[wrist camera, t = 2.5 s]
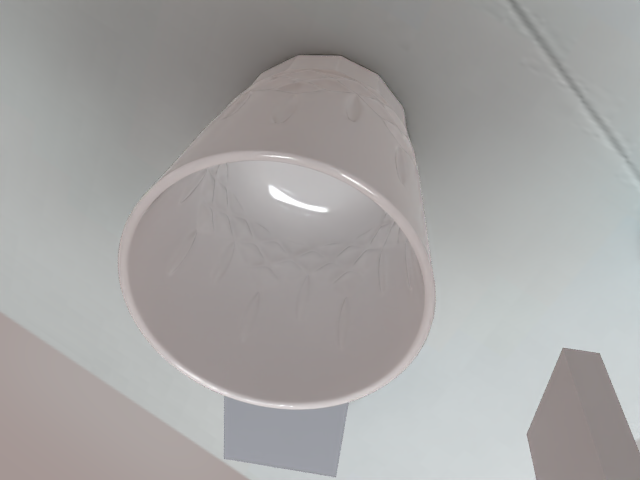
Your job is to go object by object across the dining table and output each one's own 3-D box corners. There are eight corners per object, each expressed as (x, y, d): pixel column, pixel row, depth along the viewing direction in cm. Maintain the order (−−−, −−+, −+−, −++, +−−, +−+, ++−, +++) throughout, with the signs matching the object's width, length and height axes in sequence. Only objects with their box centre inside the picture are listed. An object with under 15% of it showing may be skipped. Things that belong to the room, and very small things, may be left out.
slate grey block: (251, 300, 28) (224, 378, 24) (358, 316, 28) (349, 398, 23) (249, 376, 31) (224, 458, 26) (345, 392, 30) (335, 477, 26)
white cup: (195, 177, 25) (86, 341, 16) (265, -5, 20) (167, 88, 12) (366, 255, 26) (346, 447, 17) (465, 96, 22) (503, 247, 13)
